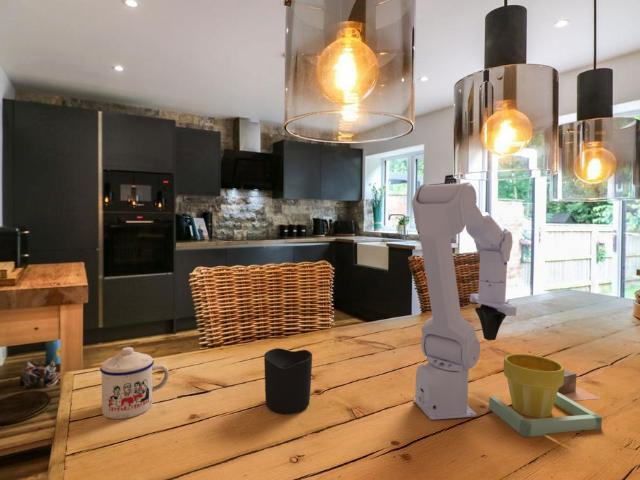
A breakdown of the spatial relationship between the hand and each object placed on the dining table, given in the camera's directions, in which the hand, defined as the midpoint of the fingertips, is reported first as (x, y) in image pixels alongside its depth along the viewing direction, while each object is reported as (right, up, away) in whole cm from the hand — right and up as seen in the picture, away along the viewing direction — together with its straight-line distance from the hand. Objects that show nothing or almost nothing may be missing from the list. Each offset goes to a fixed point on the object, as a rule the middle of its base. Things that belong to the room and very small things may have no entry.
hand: (489, 339), depth 89 cm
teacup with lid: (-75, -9, -15) cm, 77 cm away
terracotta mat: (+14, -10, -4) cm, 18 cm away
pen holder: (-46, -10, -12) cm, 48 cm away
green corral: (+3, -11, -16) cm, 20 cm away
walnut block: (+14, -10, -4) cm, 18 cm away
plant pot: (+2, -11, -13) cm, 17 cm away
